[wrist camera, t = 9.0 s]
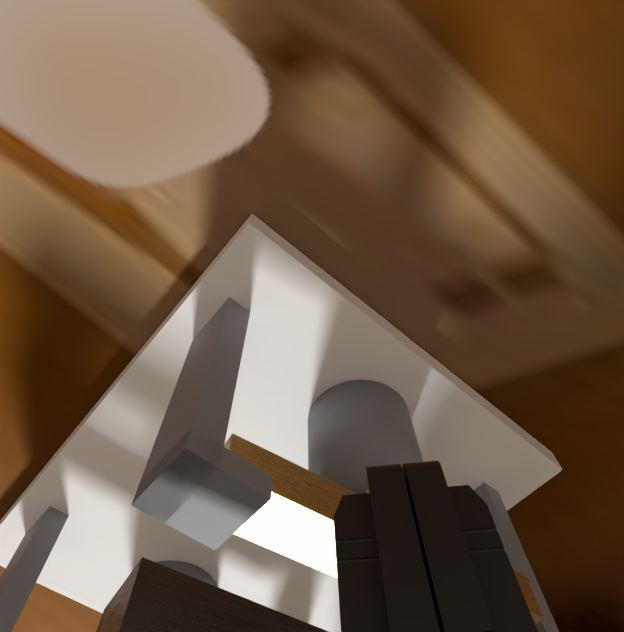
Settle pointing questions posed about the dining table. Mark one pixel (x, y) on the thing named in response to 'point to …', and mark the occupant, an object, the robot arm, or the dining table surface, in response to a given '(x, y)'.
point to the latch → (264, 529)
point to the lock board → (253, 440)
